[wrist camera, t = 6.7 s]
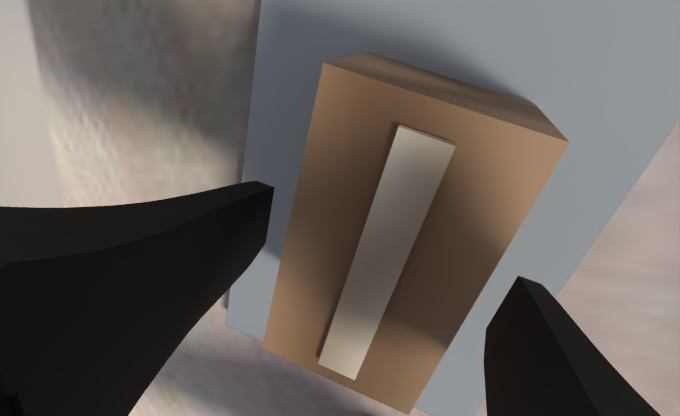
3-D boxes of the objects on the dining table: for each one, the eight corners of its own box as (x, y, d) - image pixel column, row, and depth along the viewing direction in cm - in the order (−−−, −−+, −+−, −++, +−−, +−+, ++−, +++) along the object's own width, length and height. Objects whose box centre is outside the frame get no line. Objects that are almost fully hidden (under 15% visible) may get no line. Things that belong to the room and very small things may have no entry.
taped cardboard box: (535, 104, 10) (572, 145, 7) (421, 324, 15) (407, 421, 11) (367, 51, 11) (320, 63, 7) (307, 277, 15) (258, 352, 12)
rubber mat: (464, 412, 17) (464, 429, 16) (234, 314, 19) (226, 325, 18) (770, -43, 8) (797, -49, 8) (290, -143, 10) (278, -156, 10)
